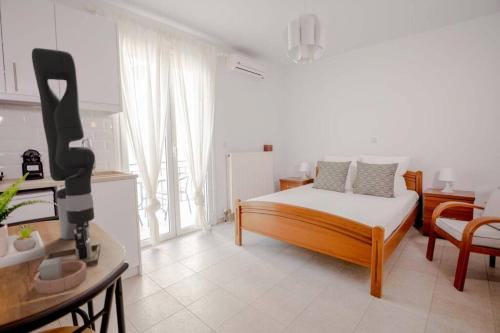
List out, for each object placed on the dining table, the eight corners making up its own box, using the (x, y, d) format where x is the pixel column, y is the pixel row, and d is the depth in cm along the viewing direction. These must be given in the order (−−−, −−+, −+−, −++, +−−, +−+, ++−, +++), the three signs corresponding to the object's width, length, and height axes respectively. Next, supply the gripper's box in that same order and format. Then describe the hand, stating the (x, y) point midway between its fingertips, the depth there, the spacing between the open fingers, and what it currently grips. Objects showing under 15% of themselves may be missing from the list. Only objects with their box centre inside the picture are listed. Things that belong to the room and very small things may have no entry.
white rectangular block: (78, 256, 86) (76, 240, 85) (92, 254, 88) (90, 238, 87) (76, 261, 82) (75, 244, 82) (90, 259, 84) (89, 242, 83)
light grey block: (45, 280, 71) (43, 260, 71) (62, 276, 73) (60, 257, 73) (41, 287, 68) (39, 266, 67) (60, 283, 70) (57, 263, 69)
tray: (48, 258, 86) (47, 252, 85) (100, 248, 93) (100, 243, 93) (36, 277, 74) (35, 271, 74) (97, 265, 81) (97, 259, 81)
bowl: (42, 277, 74) (41, 266, 74) (88, 267, 79) (87, 257, 79) (30, 299, 64) (28, 286, 63) (83, 286, 69) (82, 275, 69)
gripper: (70, 203, 87) (74, 249, 89) (61, 214, 75) (67, 267, 77) (95, 200, 91) (98, 245, 93) (91, 210, 78) (95, 262, 80)
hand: (84, 255), depth 85 cm, fingers closed on white rectangular block, 4 cm apart
